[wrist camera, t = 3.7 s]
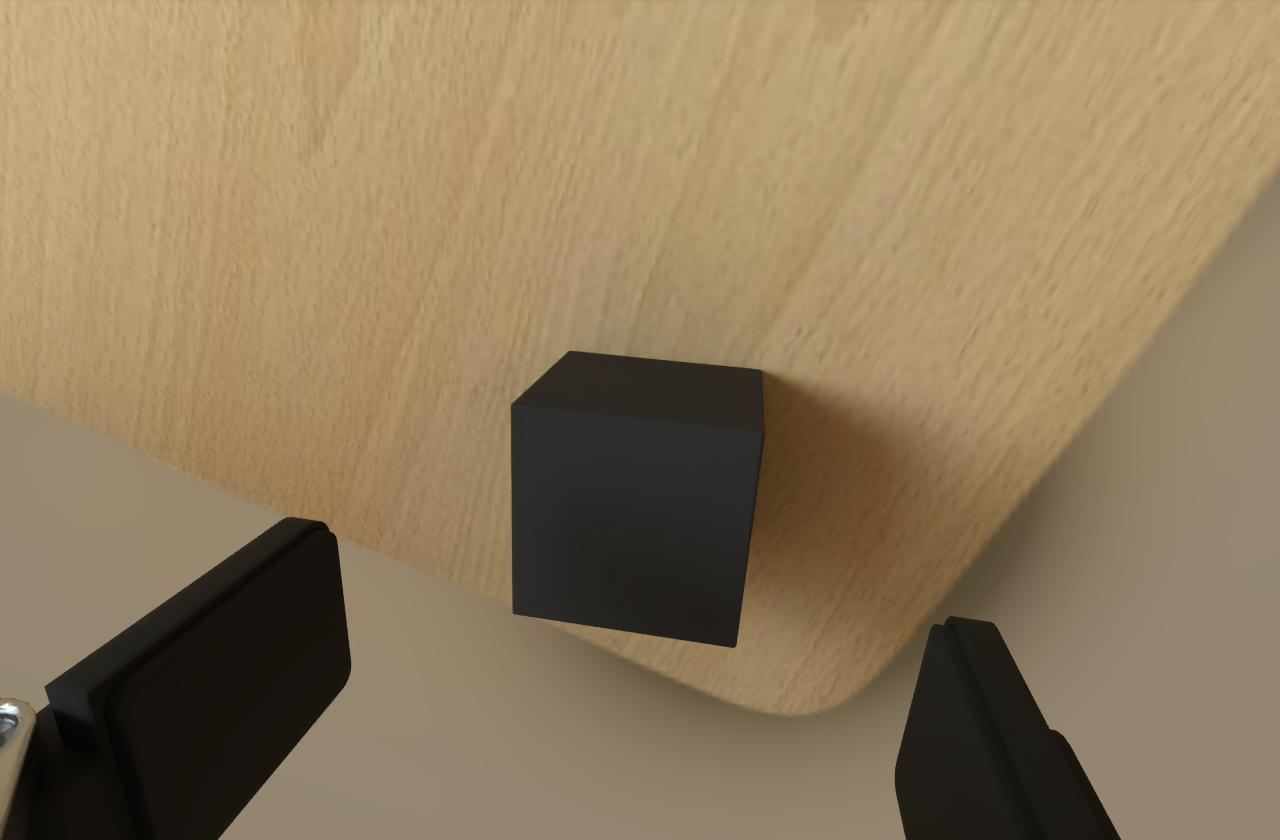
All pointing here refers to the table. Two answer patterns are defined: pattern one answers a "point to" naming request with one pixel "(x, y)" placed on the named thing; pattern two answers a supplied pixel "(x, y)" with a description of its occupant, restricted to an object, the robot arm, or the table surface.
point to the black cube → (636, 495)
